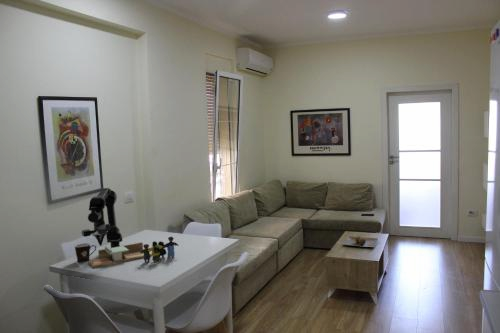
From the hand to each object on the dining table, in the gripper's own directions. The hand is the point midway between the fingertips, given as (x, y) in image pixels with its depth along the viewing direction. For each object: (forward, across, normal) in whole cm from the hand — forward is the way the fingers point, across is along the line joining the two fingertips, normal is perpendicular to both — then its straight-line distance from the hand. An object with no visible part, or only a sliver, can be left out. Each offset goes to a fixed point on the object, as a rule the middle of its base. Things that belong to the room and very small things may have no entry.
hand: (100, 245), depth 241 cm
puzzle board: (+12, +12, +3) cm, 17 cm away
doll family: (+12, +31, -13) cm, 36 cm away
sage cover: (+6, +10, +3) cm, 12 cm away
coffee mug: (+12, -5, +16) cm, 21 cm away
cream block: (+12, +10, +3) cm, 16 cm away
